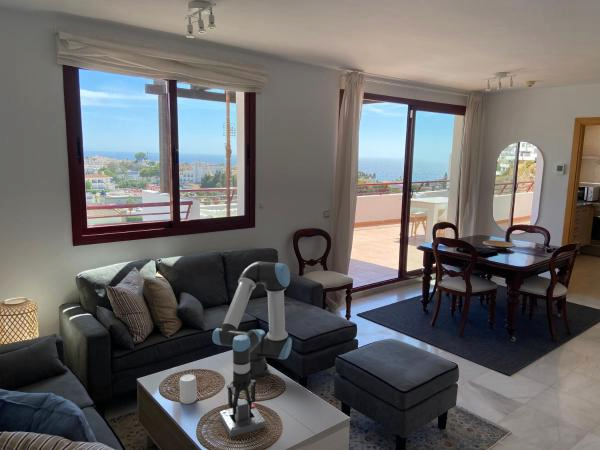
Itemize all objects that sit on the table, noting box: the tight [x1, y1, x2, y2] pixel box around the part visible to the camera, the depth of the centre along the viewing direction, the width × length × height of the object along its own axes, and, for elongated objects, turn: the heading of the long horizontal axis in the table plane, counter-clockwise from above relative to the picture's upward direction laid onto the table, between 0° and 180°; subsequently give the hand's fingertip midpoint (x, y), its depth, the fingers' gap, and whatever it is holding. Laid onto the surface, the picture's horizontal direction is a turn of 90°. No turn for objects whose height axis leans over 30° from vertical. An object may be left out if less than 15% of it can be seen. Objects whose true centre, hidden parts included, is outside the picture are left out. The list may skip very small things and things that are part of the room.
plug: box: [237, 398, 248, 422], centre depth 201 cm, size 4×4×8 cm
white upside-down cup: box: [178, 373, 198, 405], centre depth 218 cm, size 8×8×12 cm
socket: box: [219, 402, 266, 438], centre depth 202 cm, size 16×16×4 cm
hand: (242, 418), depth 202 cm, fingers closed on plug, 4 cm apart
